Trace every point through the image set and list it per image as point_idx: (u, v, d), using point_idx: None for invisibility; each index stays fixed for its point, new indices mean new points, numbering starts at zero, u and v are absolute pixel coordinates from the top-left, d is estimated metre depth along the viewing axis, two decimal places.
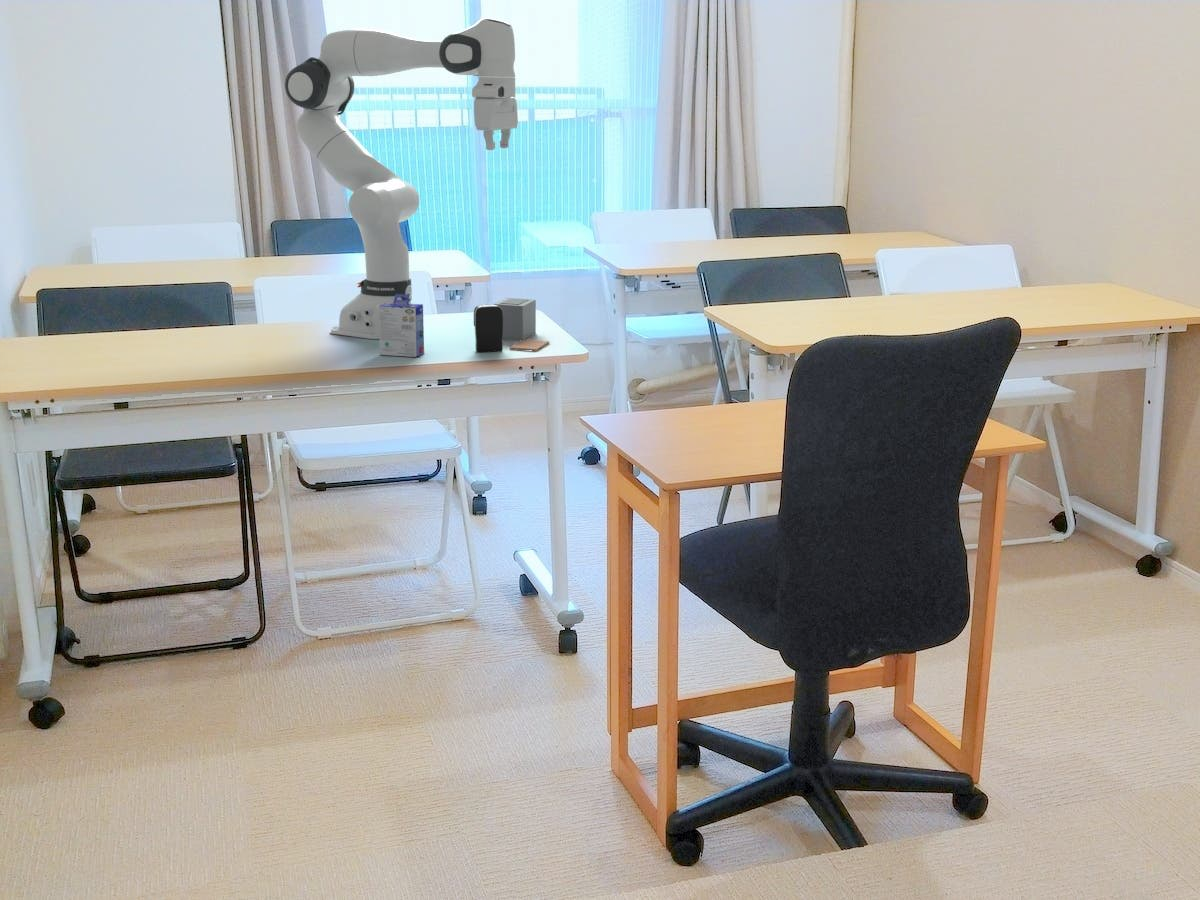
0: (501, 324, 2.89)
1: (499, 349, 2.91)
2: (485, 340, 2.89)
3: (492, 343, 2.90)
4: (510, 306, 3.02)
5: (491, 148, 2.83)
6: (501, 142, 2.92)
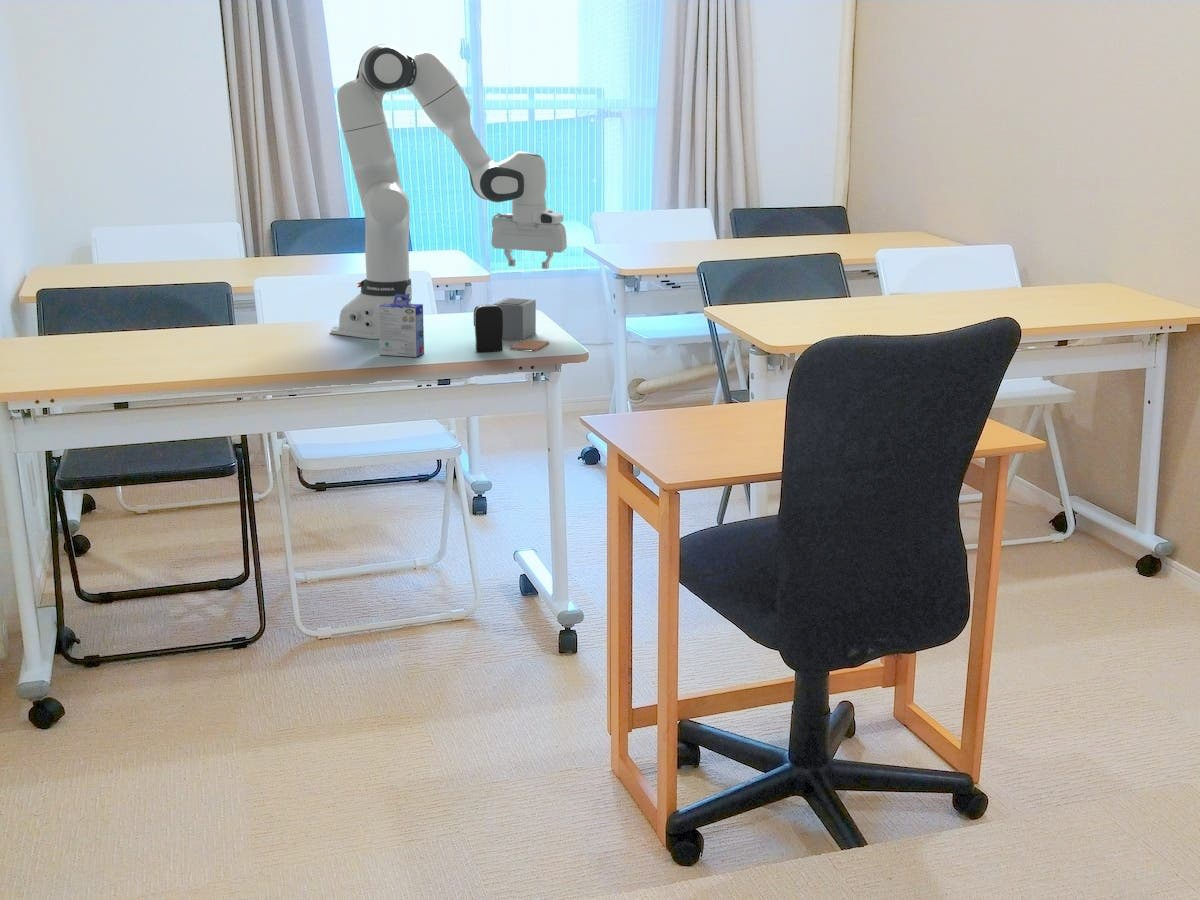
0: (501, 324, 2.89)
1: (499, 349, 2.91)
2: (485, 340, 2.89)
3: (492, 343, 2.90)
4: (510, 306, 3.02)
5: (548, 267, 3.14)
6: (513, 261, 3.15)
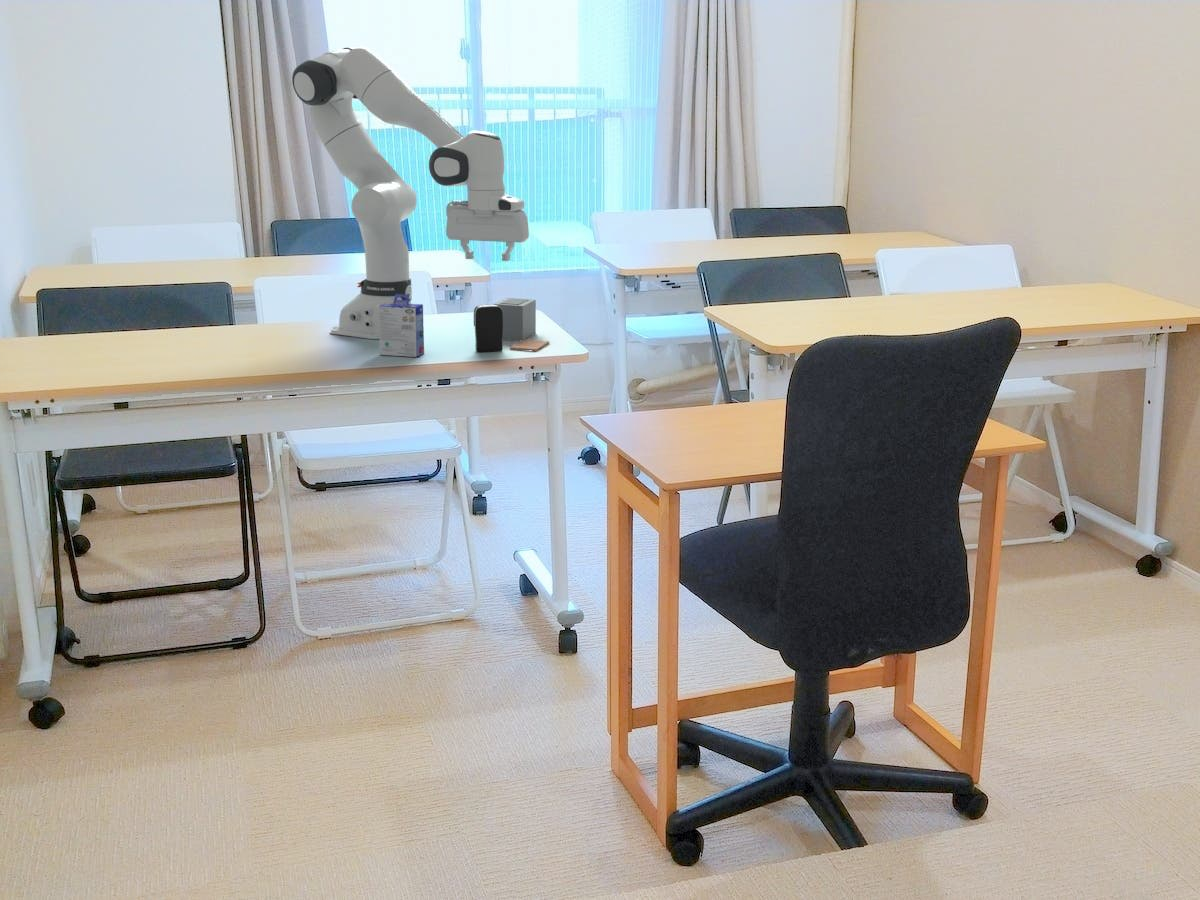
0: (501, 324, 2.89)
1: (499, 349, 2.91)
2: (485, 340, 2.89)
3: (492, 343, 2.90)
4: (510, 306, 3.02)
5: (509, 258, 2.84)
6: (471, 253, 2.85)
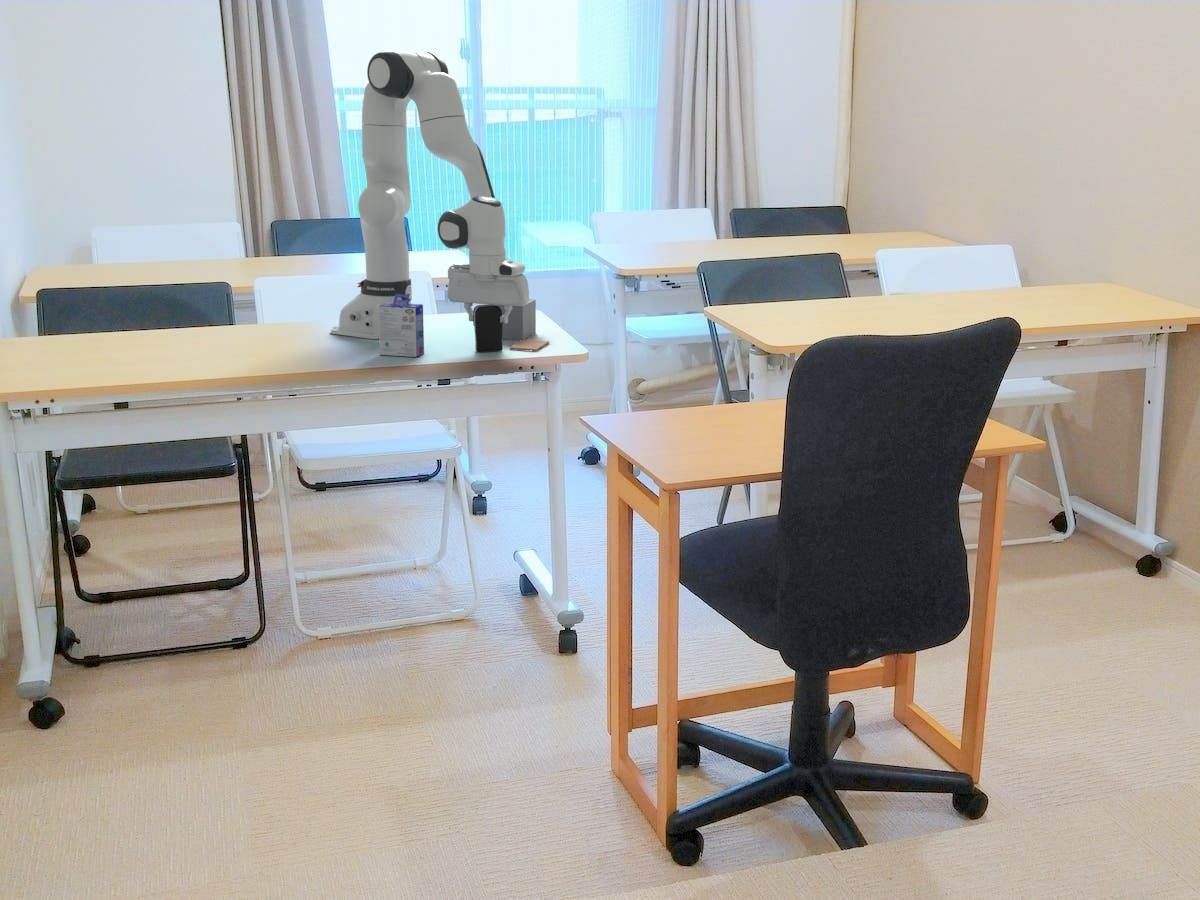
0: (501, 324, 2.89)
1: (499, 349, 2.91)
2: (485, 340, 2.89)
3: (492, 343, 2.90)
4: None
5: (507, 321, 2.89)
6: None
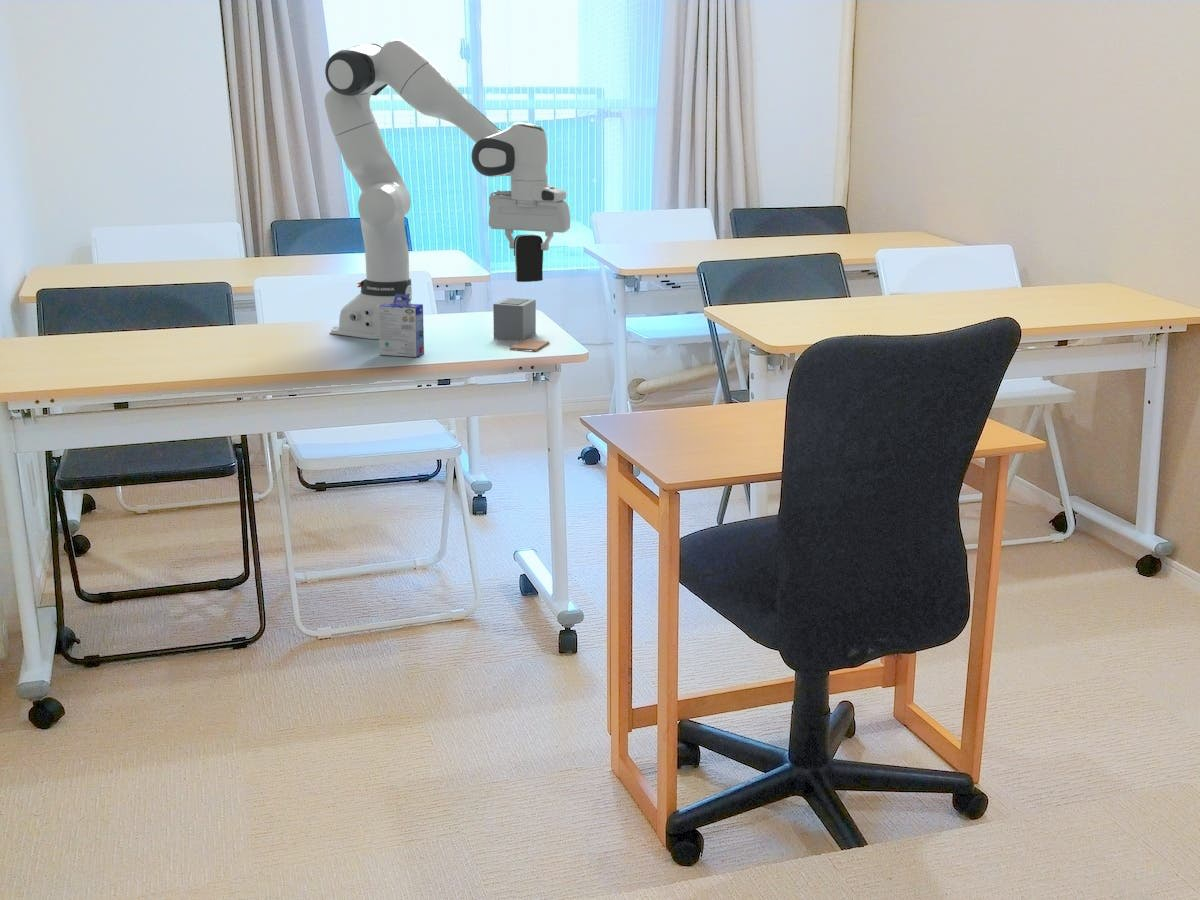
0: (541, 254, 2.90)
1: (539, 279, 2.91)
2: (525, 270, 2.89)
3: (532, 273, 2.90)
4: (510, 306, 3.02)
5: (548, 248, 2.89)
6: None
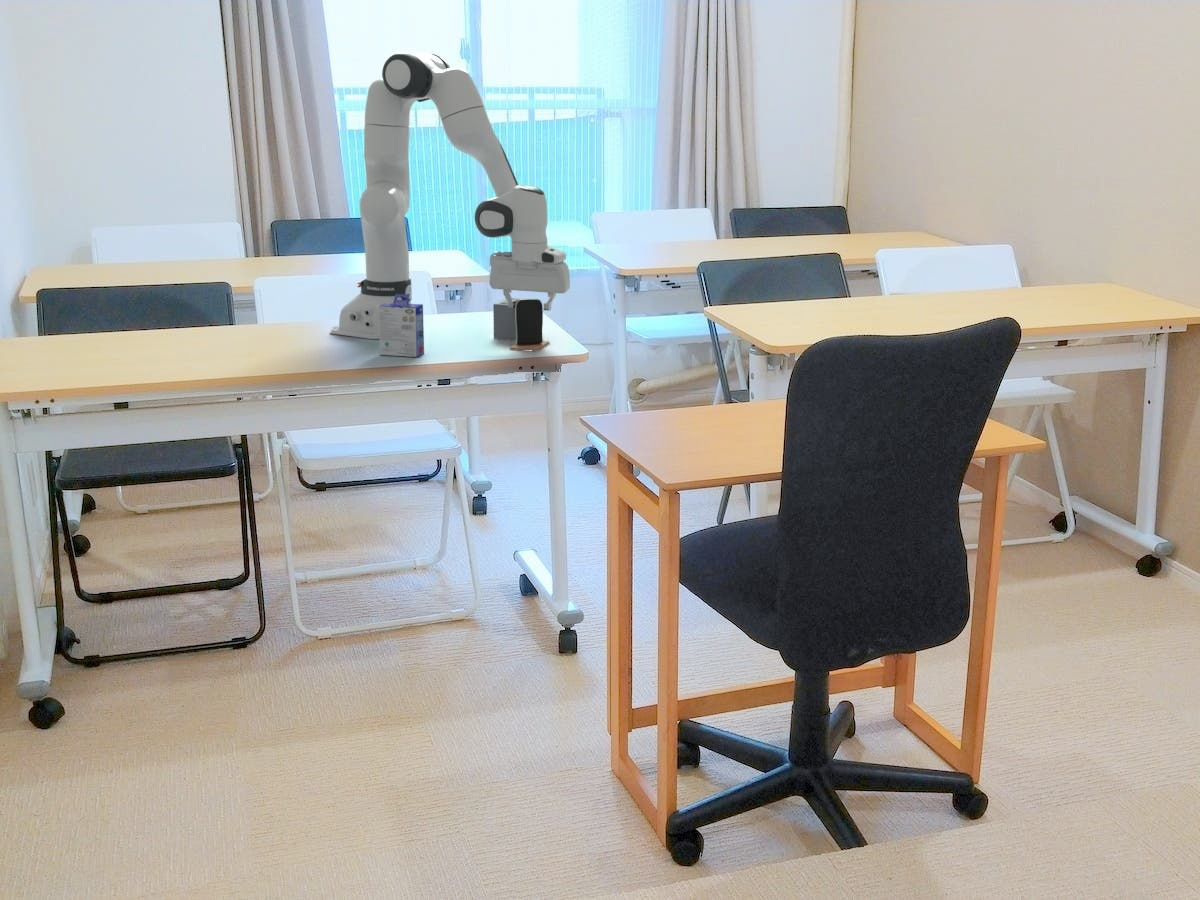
0: (541, 317, 2.95)
1: (539, 342, 2.96)
2: (525, 333, 2.94)
3: (532, 336, 2.95)
4: None
5: (550, 308, 2.93)
6: (513, 302, 2.95)
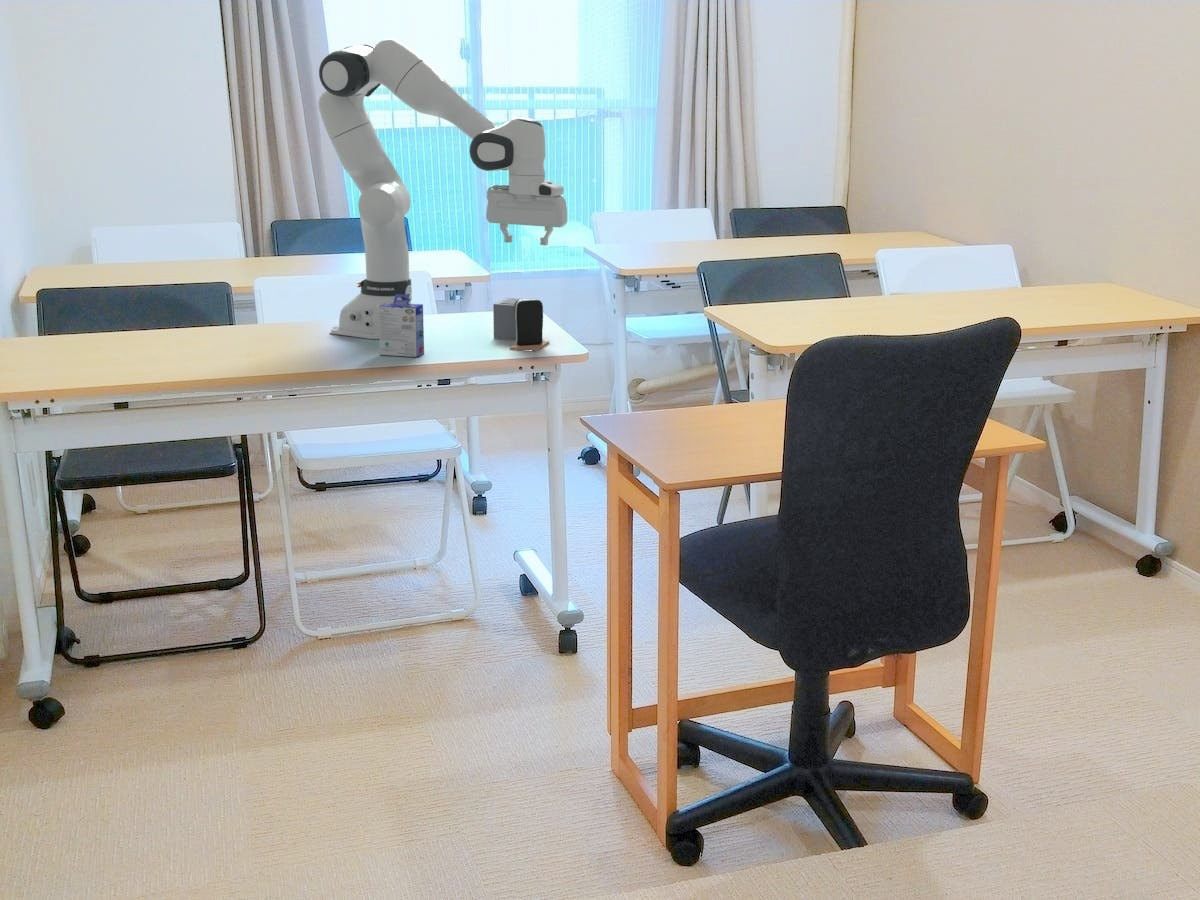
0: (541, 317, 2.95)
1: (539, 342, 2.96)
2: (526, 333, 2.94)
3: (532, 336, 2.95)
4: (510, 306, 3.02)
5: (547, 243, 2.91)
6: (510, 237, 2.92)
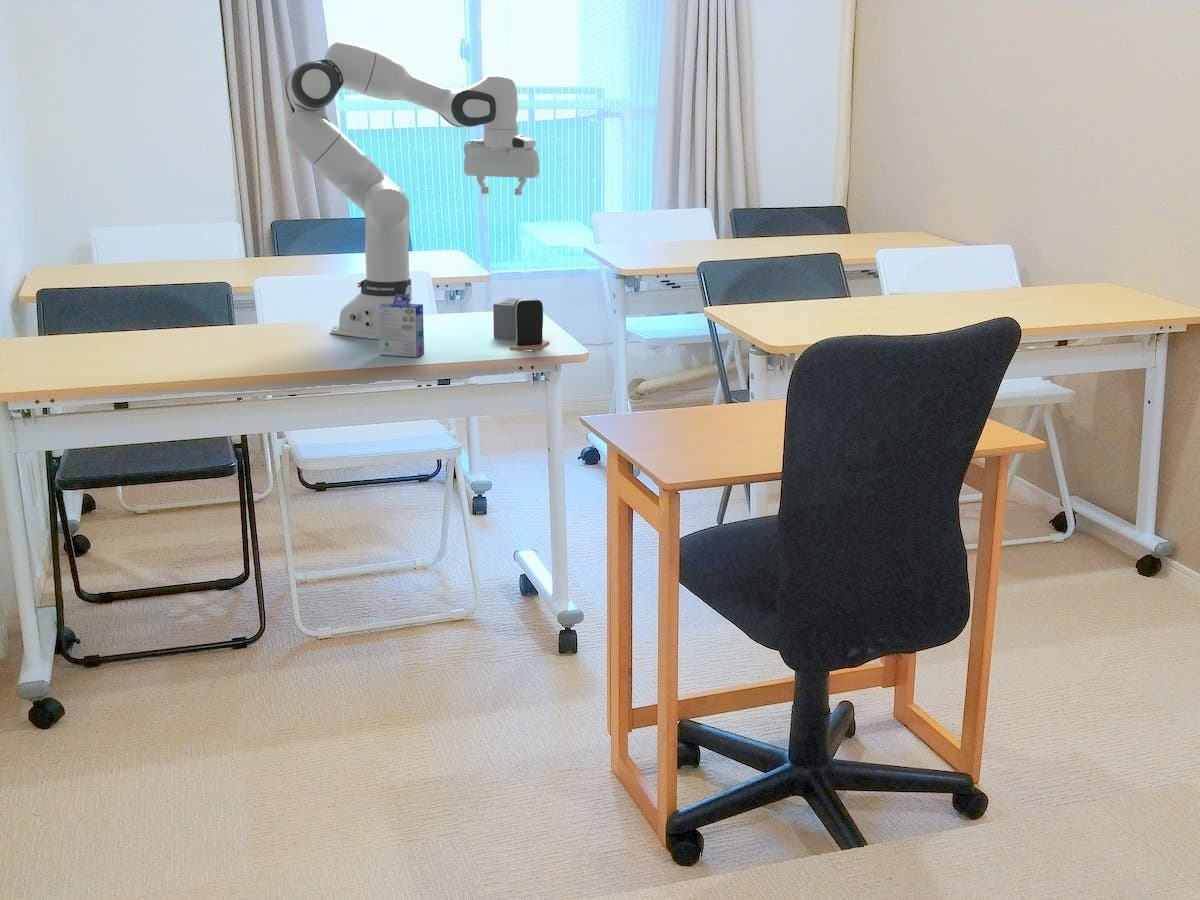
0: (541, 317, 2.95)
1: (539, 342, 2.96)
2: (526, 333, 2.94)
3: (532, 336, 2.95)
4: (510, 306, 3.02)
5: (521, 193, 3.11)
6: (486, 188, 3.12)
